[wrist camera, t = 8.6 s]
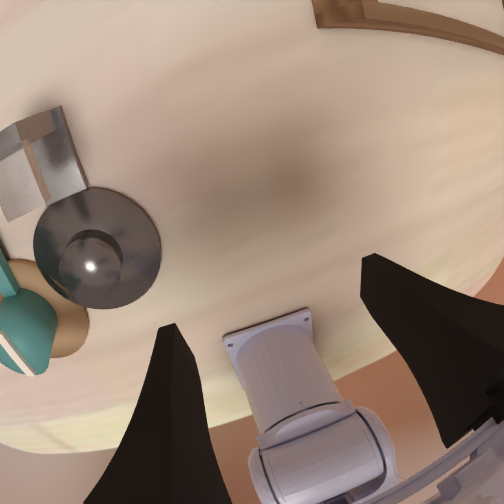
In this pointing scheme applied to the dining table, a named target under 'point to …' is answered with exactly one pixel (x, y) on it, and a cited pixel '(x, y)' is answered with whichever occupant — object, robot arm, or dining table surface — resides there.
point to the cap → (24, 326)
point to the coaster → (68, 313)
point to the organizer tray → (402, 22)
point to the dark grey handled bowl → (75, 217)
